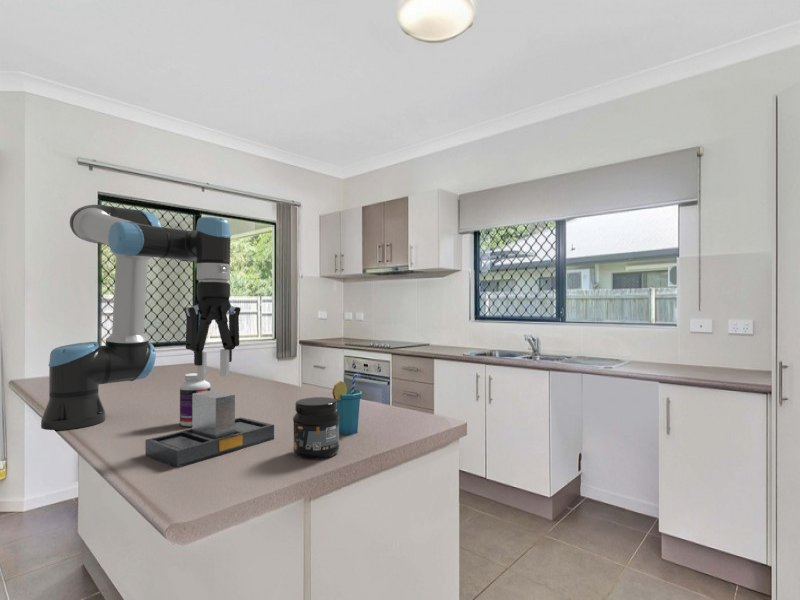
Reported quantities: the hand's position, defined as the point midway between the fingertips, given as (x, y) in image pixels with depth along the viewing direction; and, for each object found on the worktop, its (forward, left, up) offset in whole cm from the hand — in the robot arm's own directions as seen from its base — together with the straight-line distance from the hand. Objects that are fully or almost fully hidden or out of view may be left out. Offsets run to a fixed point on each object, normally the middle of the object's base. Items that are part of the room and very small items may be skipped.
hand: (213, 377), depth 107 cm
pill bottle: (-24, +9, -17) cm, 31 cm away
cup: (+18, +29, -17) cm, 38 cm away
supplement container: (+24, +11, -17) cm, 31 cm away
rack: (0, 0, -17) cm, 17 cm away
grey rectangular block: (0, 0, -16) cm, 16 cm away
